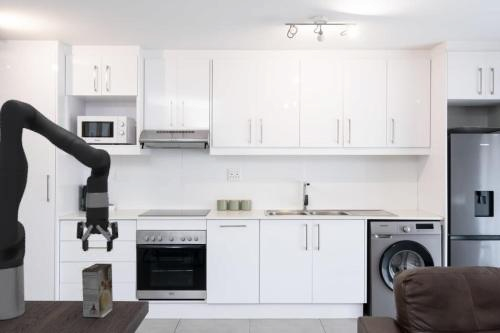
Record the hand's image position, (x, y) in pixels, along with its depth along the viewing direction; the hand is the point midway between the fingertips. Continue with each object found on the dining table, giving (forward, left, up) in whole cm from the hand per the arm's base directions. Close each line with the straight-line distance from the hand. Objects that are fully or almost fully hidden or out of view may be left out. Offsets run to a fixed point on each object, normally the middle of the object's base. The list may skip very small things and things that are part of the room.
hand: (97, 251), depth 134 cm
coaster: (0, 0, -22) cm, 22 cm away
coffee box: (0, 0, -22) cm, 22 cm away
